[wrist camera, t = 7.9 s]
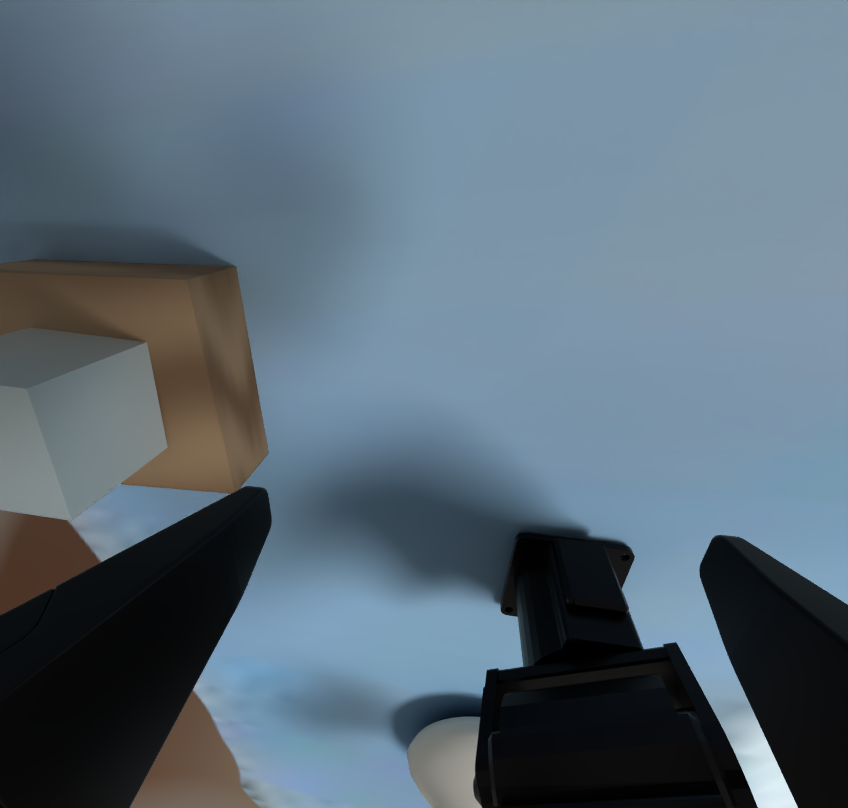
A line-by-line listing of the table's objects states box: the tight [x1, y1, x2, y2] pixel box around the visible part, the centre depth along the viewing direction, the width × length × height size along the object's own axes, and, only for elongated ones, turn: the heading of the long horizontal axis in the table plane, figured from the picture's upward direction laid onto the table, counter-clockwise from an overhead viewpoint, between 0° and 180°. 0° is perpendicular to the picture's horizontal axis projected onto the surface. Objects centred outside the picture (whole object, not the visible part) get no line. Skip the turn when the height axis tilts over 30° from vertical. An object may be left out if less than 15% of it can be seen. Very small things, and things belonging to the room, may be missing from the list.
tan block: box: [0, 260, 268, 494], centre depth 20 cm, size 10×10×4 cm
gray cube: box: [0, 328, 168, 521], centre depth 16 cm, size 5×5×5 cm
